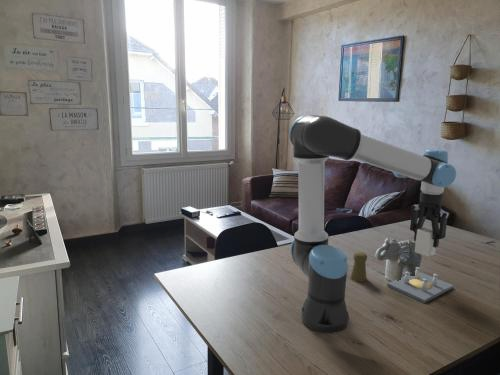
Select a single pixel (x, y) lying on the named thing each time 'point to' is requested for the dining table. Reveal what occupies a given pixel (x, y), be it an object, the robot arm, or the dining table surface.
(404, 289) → the pin board
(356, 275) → the cork
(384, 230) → the dining table surface
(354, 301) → the dining table surface
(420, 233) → the cream plug
